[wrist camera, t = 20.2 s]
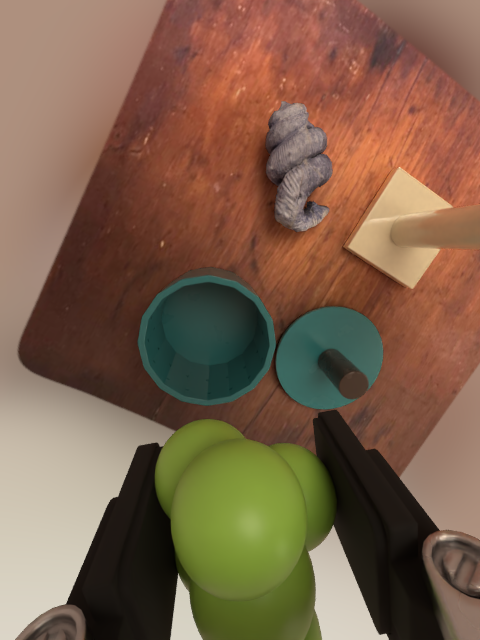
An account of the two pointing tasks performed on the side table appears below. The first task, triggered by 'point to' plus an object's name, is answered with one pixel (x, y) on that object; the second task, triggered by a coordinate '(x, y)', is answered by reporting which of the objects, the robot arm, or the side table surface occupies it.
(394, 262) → the pedestal
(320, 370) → the lid
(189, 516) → the grapes
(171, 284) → the pot
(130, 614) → the robot arm
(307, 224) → the seashell
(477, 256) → the side table surface
